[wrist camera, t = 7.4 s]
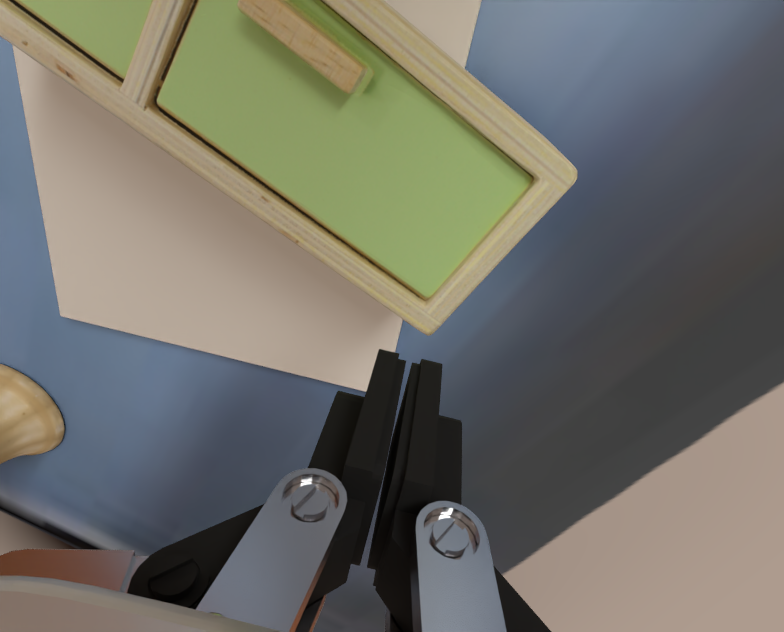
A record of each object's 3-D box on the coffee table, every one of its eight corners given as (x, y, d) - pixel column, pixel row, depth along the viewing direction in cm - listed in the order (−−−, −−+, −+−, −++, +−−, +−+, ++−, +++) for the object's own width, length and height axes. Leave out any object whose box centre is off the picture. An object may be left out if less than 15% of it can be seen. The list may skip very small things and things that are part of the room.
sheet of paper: (1, -111, 19) (-17, -117, 18) (481, -1, 19) (482, -3, 18) (70, 309, 29) (60, 316, 28) (386, 387, 29) (384, 396, 28)
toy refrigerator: (423, 355, 17) (-148, -52, 14) (436, 275, 24) (49, -17, 20) (592, 183, 14) (-125, -439, 10) (553, 144, 20) (107, -245, 16)
